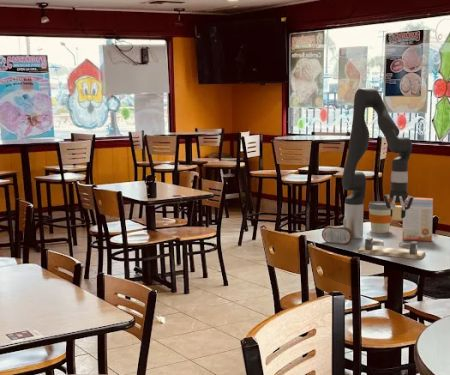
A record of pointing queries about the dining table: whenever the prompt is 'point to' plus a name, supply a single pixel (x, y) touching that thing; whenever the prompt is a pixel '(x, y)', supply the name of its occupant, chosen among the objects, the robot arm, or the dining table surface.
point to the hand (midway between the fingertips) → (397, 217)
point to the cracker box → (418, 220)
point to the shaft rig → (391, 249)
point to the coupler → (397, 213)
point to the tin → (337, 235)
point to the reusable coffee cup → (379, 216)
